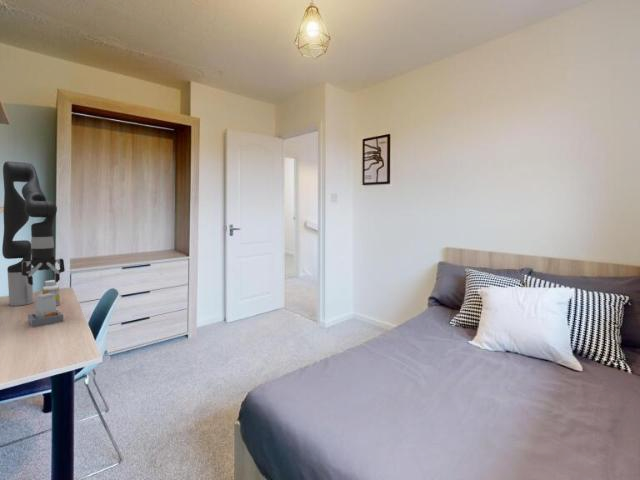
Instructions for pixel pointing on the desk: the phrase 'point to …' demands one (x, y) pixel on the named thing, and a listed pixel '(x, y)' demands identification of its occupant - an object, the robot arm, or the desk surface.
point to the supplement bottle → (52, 289)
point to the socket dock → (45, 319)
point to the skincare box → (45, 305)
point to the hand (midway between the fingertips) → (44, 283)
